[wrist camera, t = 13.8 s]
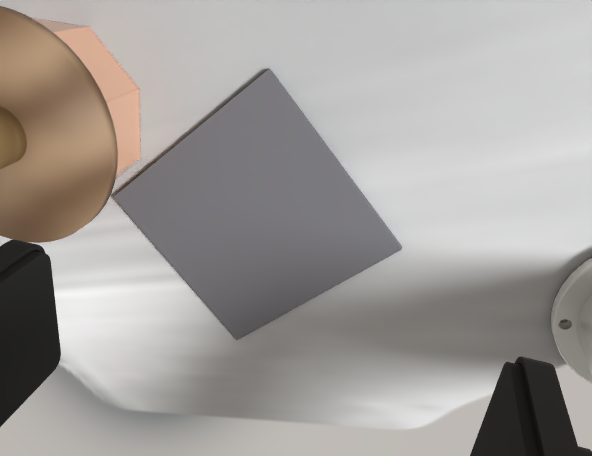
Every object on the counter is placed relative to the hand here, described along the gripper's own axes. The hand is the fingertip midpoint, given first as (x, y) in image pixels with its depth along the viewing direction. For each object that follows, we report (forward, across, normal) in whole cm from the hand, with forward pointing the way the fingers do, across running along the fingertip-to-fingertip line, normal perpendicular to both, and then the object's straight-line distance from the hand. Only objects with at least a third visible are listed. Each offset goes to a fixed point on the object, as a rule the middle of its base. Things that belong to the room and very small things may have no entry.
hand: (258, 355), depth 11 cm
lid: (+22, +24, +6) cm, 33 cm away
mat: (+28, +8, +12) cm, 32 cm away
